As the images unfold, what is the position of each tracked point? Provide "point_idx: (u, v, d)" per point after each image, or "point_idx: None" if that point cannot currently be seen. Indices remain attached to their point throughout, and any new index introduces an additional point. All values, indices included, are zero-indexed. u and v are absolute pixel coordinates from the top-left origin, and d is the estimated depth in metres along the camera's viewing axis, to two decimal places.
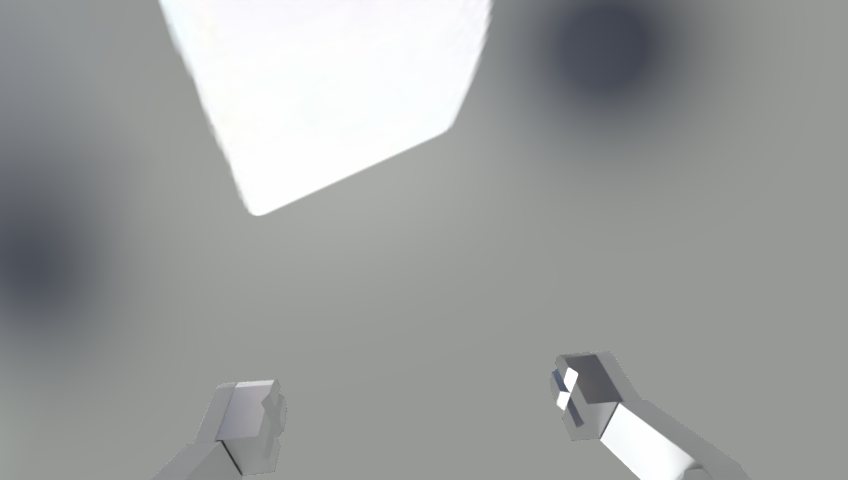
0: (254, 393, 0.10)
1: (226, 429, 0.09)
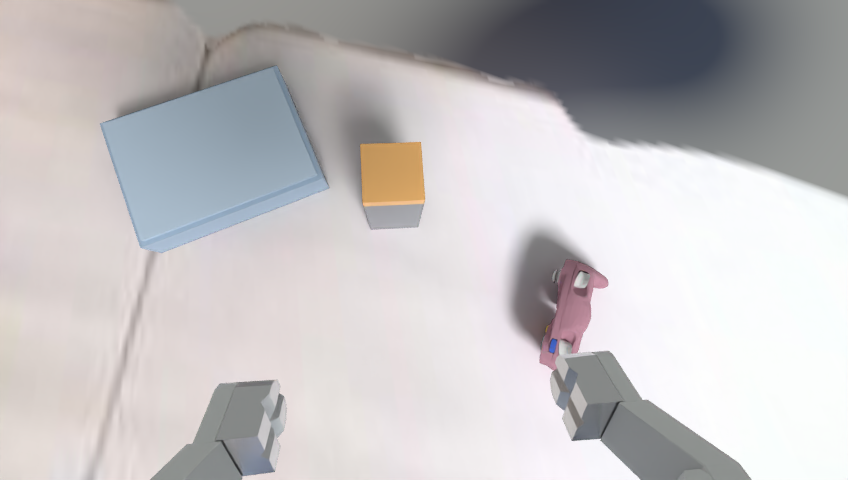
0: (254, 393, 0.10)
1: (226, 429, 0.09)
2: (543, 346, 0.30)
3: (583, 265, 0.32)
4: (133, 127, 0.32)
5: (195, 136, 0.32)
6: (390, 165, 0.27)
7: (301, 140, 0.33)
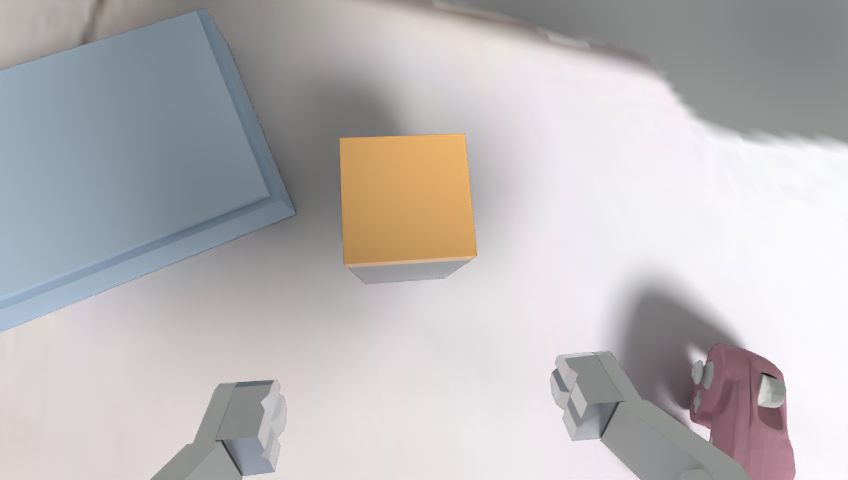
0: (254, 393, 0.10)
1: (226, 429, 0.09)
2: None
3: (760, 360, 0.18)
4: None
5: (52, 128, 0.18)
6: (403, 181, 0.13)
7: (242, 134, 0.19)
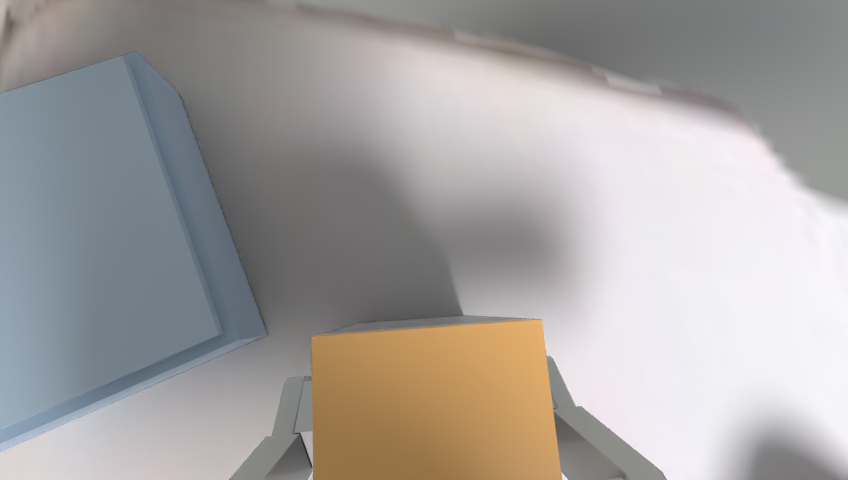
0: None
1: (302, 422, 0.09)
2: None
3: None
4: None
5: None
6: (431, 423, 0.07)
7: (182, 242, 0.13)
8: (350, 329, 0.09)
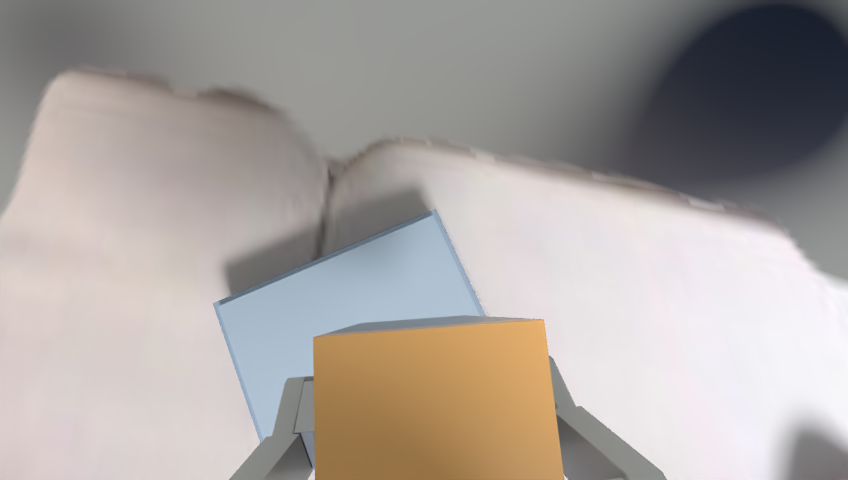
0: None
1: (302, 422, 0.09)
2: None
3: None
4: (258, 310, 0.24)
5: (340, 320, 0.24)
6: (433, 424, 0.07)
7: None
8: (351, 329, 0.09)
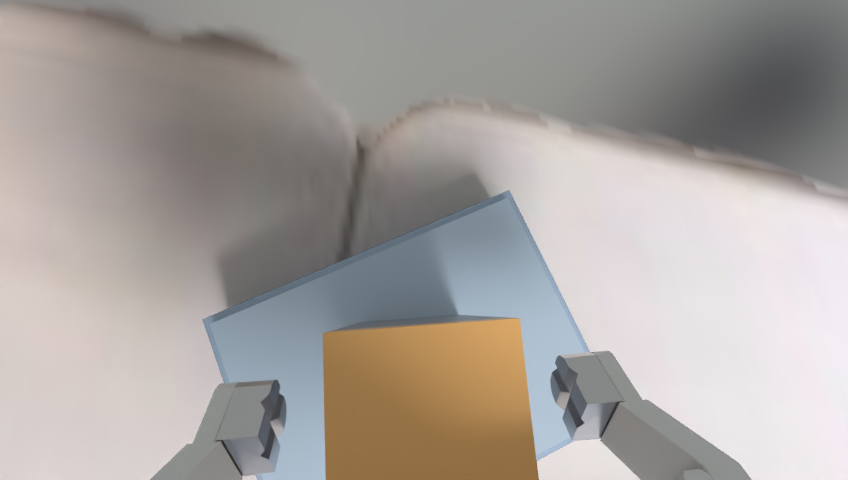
0: (254, 393, 0.10)
1: (226, 429, 0.09)
2: None
3: None
4: (268, 329, 0.17)
5: None
6: (424, 406, 0.08)
7: (577, 343, 0.18)
8: (354, 327, 0.11)
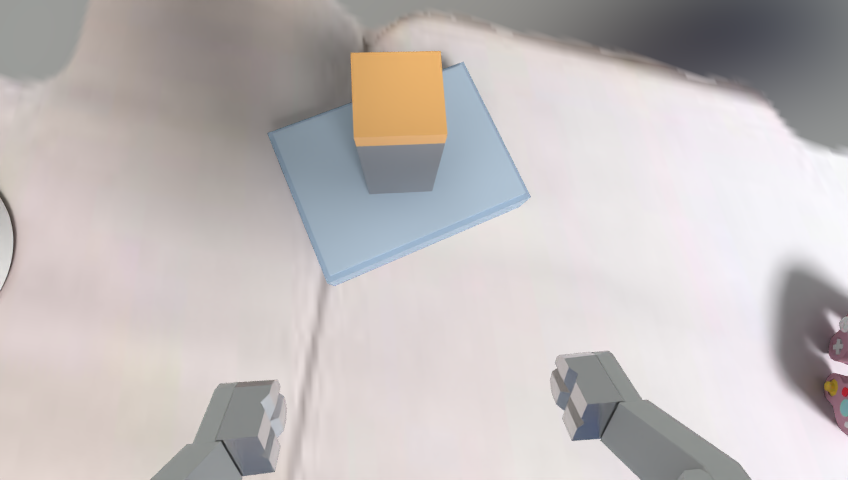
0: (254, 393, 0.10)
1: (226, 429, 0.09)
2: None
3: None
4: (308, 137, 0.27)
5: None
6: (395, 83, 0.18)
7: (503, 152, 0.28)
8: None
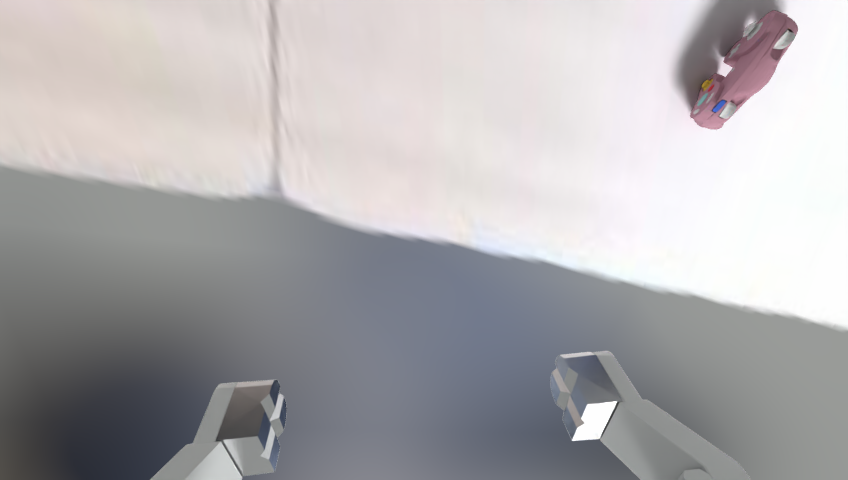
0: (254, 393, 0.10)
1: (226, 429, 0.09)
2: (708, 105, 0.33)
3: (791, 21, 0.30)
4: None
5: None
6: None
7: None
8: None
